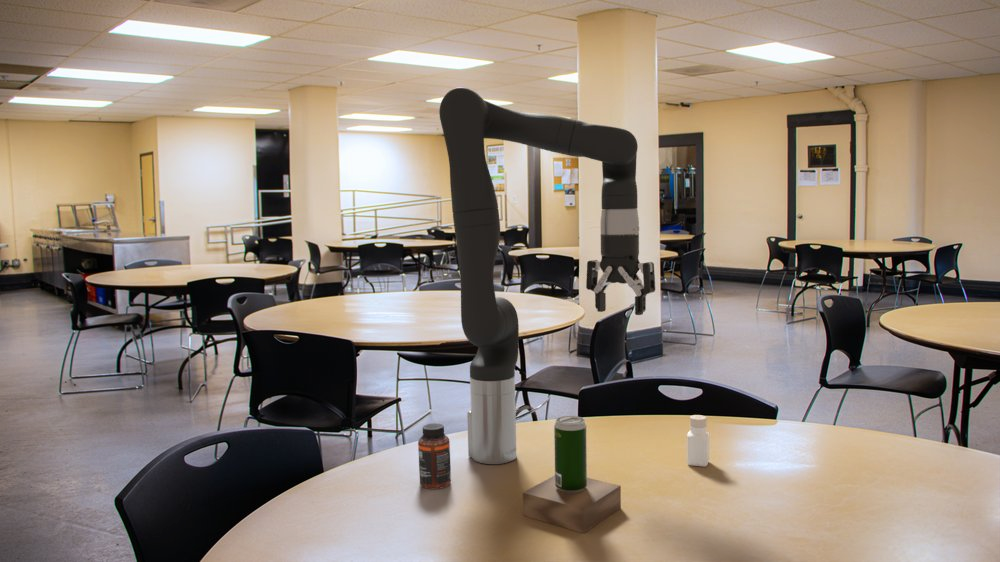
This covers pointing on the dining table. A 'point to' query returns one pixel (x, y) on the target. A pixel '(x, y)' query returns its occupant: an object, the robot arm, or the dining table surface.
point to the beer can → (570, 454)
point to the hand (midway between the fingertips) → (620, 313)
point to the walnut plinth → (572, 504)
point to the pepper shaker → (698, 442)
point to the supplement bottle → (434, 457)
